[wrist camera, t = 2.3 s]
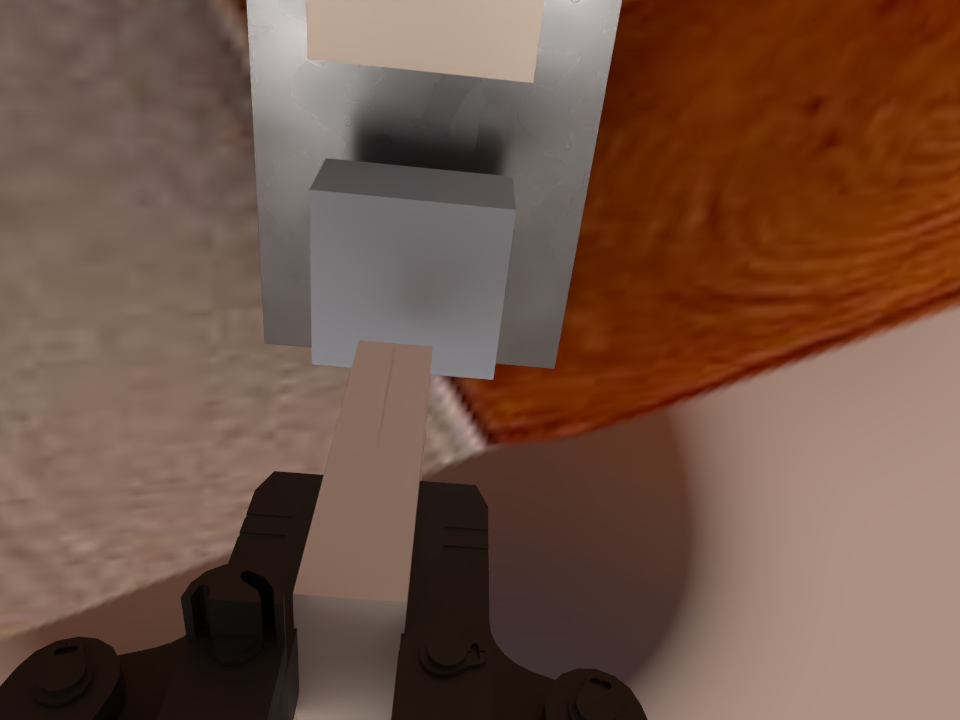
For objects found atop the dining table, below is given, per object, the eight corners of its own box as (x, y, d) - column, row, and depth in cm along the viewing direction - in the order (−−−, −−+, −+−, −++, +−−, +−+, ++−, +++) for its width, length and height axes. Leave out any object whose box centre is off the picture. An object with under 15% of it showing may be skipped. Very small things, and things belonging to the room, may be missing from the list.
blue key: (340, 130, 23) (309, 189, 19) (509, 147, 23) (516, 210, 19) (339, 282, 26) (311, 364, 21) (490, 295, 26) (492, 379, 22)
